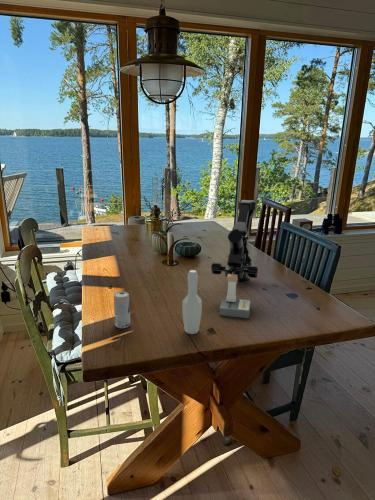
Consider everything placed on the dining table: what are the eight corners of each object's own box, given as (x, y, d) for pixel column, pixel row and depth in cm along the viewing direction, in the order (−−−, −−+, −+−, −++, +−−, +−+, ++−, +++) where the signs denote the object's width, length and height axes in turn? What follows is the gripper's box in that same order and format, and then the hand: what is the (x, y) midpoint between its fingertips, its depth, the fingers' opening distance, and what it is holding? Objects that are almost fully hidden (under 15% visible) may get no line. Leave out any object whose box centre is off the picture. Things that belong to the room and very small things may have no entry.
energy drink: (131, 321, 131) (130, 291, 127) (129, 328, 126) (128, 297, 122) (116, 321, 131) (114, 291, 127) (114, 328, 125) (112, 297, 122)
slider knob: (227, 297, 145) (228, 273, 142) (236, 298, 144) (237, 274, 141) (225, 301, 141) (227, 276, 138) (235, 302, 140) (237, 277, 137)
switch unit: (222, 304, 146) (222, 296, 145) (250, 307, 144) (250, 299, 143) (219, 315, 137) (219, 307, 136) (248, 318, 134) (249, 310, 134)
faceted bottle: (190, 324, 129) (191, 266, 123) (204, 330, 126) (206, 271, 119) (178, 331, 125) (179, 271, 118) (193, 337, 121) (194, 276, 115)
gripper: (212, 243, 145) (207, 278, 138) (259, 247, 142) (256, 283, 134) (214, 256, 155) (209, 290, 148) (258, 260, 151) (255, 294, 144)
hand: (232, 289), depth 143 cm, fingers closed
